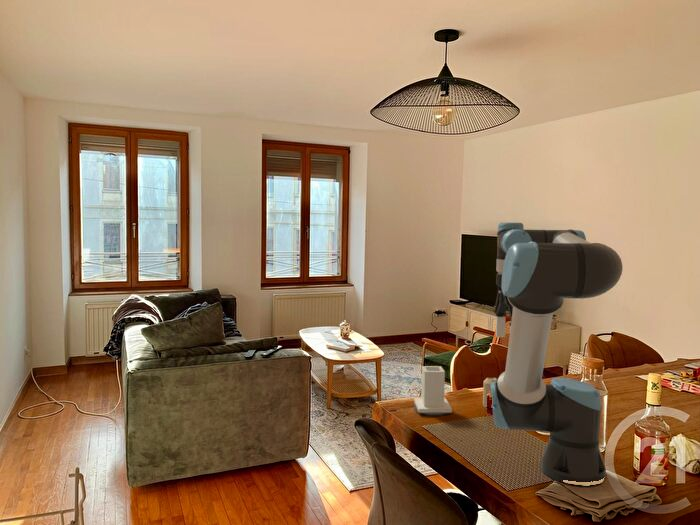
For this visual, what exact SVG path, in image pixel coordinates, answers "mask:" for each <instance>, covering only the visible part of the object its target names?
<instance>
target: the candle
mask: <svg viewBox="0 0 700 525" xmlns="http://www.w3.org/2000/svg"><path fill="white" fill-rule="evenodd" d="M495 381H498V378H496V377H486V378H485V379H484V380H483V384H482V385H483V388H482V389H483V390H482V391H483V392H482V406H483V407H484V408H485V409H487V408H486V405H487V394H488V392H489V391H491V383H492V382H495Z"/></svg>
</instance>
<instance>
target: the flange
mask: <svg viewBox="0 0 700 525" xmlns="http://www.w3.org/2000/svg"><path fill="white" fill-rule="evenodd" d="M445 374H446V372H445V370H444V368H443V367H442V366H441V365H439V366H438V365H429V366H428V365H425V366H424V365H422V366H421V381H420V382H421V390H420V394H421V395H420V397H413V402H414V405H416V407H417V410H418V412H419V413H418V412H417V413H418V414H420V413H448V414H450V413H453V408H452V407H451V404H450V403H449V401H448V399H447V398H446V397H445V388H446V387H445V386H446V384H445V381H446V380H445V377H446V376H445Z"/></svg>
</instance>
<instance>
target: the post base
mask: <svg viewBox="0 0 700 525" xmlns="http://www.w3.org/2000/svg"><path fill="white" fill-rule="evenodd" d="M413 408H414V409H413V410H414V411H415V412H416V413H417V414H421V415H423V416H430V417H439V416H445V415H448V414H449V413H419V412H418V410H417V407H416V405H415V404H414V405H413Z"/></svg>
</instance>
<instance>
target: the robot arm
mask: <svg viewBox="0 0 700 525" xmlns="http://www.w3.org/2000/svg"><path fill="white" fill-rule="evenodd" d="M496 235H497V240H496V241H497V244H496V245H497V250H496V252H497V256H496V267H495V268H496V272H497V273H496V274H495V276H496V277H495V278H496V280H495V284H496V286H497V294H496V299H495V306H494V310H493V313H494V314H495V316H496V317H495V318H496V321H495V323H496V324H495V337H496V338H506V317H507V312H506V311H507V310H508V314H509V319H510V322H509V324H508V326H509V327H510V328H509V339H508V346H507V355H506V361H505V371H503V372H502V373H500V375H499V376H498V378H497V380H498V381H495V382H492V383H491V397H492V408H493V409H492V415H493V416H492V417H493V422H494V423H493V424H494V425H495V426H496V427H497V428H498V429H505V430H508V431H527V432H530V431H531V432H532V431H533V432H545V433H546V432H547V433H549V435H548V437H549V438H548V442H547V444H546V446H545V448H544V451H543V454H542V456H541V460H540V468H541V471H542V472H543V473H544V474H545V475H546V476H547V477H549V478H551V479H552V480H554V481H557V482H559V481H563V480H568V481H576V482H591V481H592V482H593V481H599V480H601V479H603V478H604V477H605V478H606V476H605V475H607V474H606V473H607V471H606V466H605V462H604V458H603V456H602V453H601V449H600V431H601V415H602V414H601V412H602V409H603V408H602V396H601V393H600V391H599V390H598V388H596V387H595V386H593V385H591V384H589V383H586V382H583V381H581V380H578V379H573V378H567V377H554V378H552V379H551V381H550V384H546V383H545V380H543V378H542V377H543V373H544V367H545V362H546V355H547V350H548V344H549V339H550V333H551V329H552V328H551V327H552V323H553V316H554V313H557V312H558V311H559V310H560V309H561V308H562V306H563V303H564V300H565V299H582V300H583V299H591V298H594V297H598V296H601V295H603V294H605V293H607V292H609V291H610V290H612V289H613V288H614V287H615V286H616V285H617V283H618V282H619V280H621V277H622V274H623V261H622V259H621V258H622V257H620V255H619V254H618V253H617V251H616V250H614V249H613V248H612V247H610V246H609V245H606V244H603V243H599V242H590V241H588V240H587V238H586V237H587V236H586V234H585V232H584V231H582V230H580V229H579V230H577V229H524V224H523V223H522V222H499V223H498V225H497V233H496Z"/></svg>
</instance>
